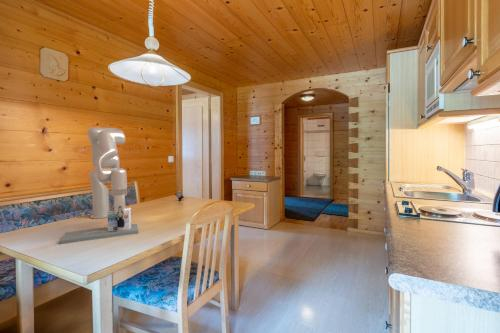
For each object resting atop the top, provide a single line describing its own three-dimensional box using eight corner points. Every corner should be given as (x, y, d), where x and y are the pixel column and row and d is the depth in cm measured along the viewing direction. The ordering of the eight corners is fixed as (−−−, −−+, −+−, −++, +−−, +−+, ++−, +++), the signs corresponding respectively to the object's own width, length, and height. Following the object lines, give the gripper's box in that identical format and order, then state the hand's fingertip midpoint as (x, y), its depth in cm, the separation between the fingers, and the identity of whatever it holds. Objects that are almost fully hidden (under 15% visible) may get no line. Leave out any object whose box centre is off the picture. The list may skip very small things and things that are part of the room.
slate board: (65, 235, 136) (65, 232, 136) (136, 226, 151) (136, 223, 151) (60, 244, 124) (59, 240, 124) (138, 233, 139) (138, 230, 139)
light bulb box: (107, 231, 136) (106, 211, 136) (110, 228, 143) (109, 208, 142) (130, 229, 140) (129, 209, 139) (131, 226, 146) (130, 207, 146)
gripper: (112, 190, 146) (113, 221, 148) (110, 195, 131) (112, 230, 132) (127, 189, 150) (128, 220, 151) (127, 194, 134) (129, 228, 135)
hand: (120, 224), depth 141 cm, fingers closed on light bulb box, 7 cm apart
